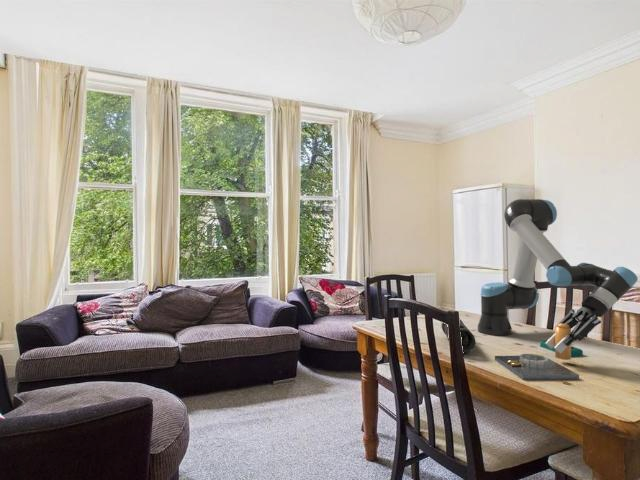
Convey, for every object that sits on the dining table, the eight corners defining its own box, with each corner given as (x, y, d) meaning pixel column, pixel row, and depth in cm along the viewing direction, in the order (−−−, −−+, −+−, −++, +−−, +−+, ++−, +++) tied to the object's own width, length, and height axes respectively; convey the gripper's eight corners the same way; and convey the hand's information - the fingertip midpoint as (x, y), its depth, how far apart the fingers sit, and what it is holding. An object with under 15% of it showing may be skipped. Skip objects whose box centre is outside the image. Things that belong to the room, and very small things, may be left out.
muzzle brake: (450, 354, 149) (450, 328, 149) (440, 336, 177) (440, 314, 177) (476, 355, 148) (476, 329, 148) (462, 337, 175) (462, 314, 175)
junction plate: (494, 359, 142) (494, 349, 142) (542, 359, 142) (542, 348, 142) (523, 379, 122) (522, 367, 122) (579, 379, 122) (578, 367, 122)
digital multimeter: (553, 346, 161) (553, 339, 161) (583, 356, 147) (583, 349, 147) (538, 347, 160) (538, 340, 160) (567, 358, 145) (567, 350, 145)
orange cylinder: (552, 355, 141) (552, 323, 140) (565, 355, 141) (565, 323, 140) (560, 359, 136) (560, 326, 136) (574, 359, 136) (574, 326, 136)
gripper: (625, 315, 129) (576, 363, 129) (588, 305, 147) (545, 347, 147) (609, 299, 129) (560, 348, 129) (574, 291, 147) (531, 334, 147)
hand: (552, 347), depth 138 cm, fingers closed on orange cylinder, 5 cm apart
